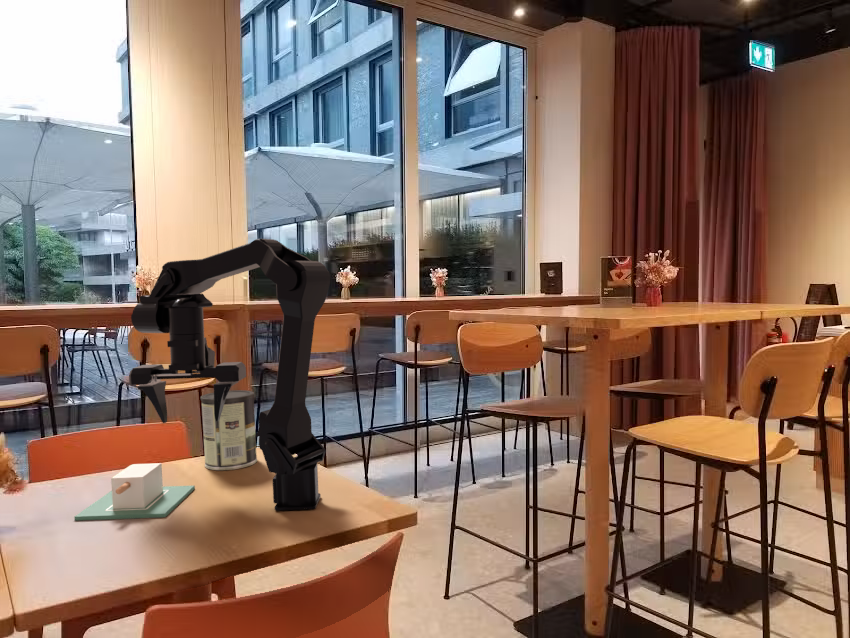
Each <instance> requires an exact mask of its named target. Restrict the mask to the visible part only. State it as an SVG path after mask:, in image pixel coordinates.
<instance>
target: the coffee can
mask: <svg viewBox="0 0 850 638" xmlns="http://www.w3.org/2000/svg"><path fill="white" fill-rule="evenodd" d="M254 397H255V392H254V391H252V390H247V389H246V390H245V389H242V390H241V389H236V390H233V389H232V390H229V392H228V394H227V397H226V400H225V403H224V406H223V410H222V413H221V416H220V420H219V421H217V422H216V421H215V415H214V391H213V392H210V393H206V394H203V395H201V396H200V401H201V415H202V416H201V417H202V430H203V431H202V432H203V450H204V467H205V468H206V469H208V470H211V471H231V470H232V471H233V470H234V471H235V470H240V469H243V468H246V467H250V466H253V465H255V464H256V463H257V462H258V457H257V456H258V455H257V441H256V438H257V437H256V422H255V421H256V420H255V401H254V400H255V398H254Z"/></svg>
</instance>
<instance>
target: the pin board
mask: <svg viewBox="0 0 850 638" xmlns="http://www.w3.org/2000/svg"><path fill="white" fill-rule="evenodd" d="M195 489H196V486H195V485H171V486H169V485H167V486H166V485H165V486H163V492H162V493H161V494H160V495H159V496H157V497H156V498H155V499H154V500H153V501H152V502H150V503H149V504H148V505H147V506H146V507H145V508H124V509H113V501H112V490H110V491H109V492H107V493H106V494H105V495H103V496H101V497H100V498H99V499H97V500H95V502H93V503H92V504H90V505H89V506H87V507H86V508H85V509H83V510H81V511H80V512H79V513H77V514H75V516H74V517H73V518H74V521H93V520H95V521H97V520H99V521H100V520H121V519H122V520H124V519H127V520H128V519H148V518H154V519H156V518H167V516H168V515H169V514H170V513H171V512H172V511H174V510H175V508H177V506H179V505H180V504H181V503H182V502H183V501H184V500H185V499H186V498H187V497H188V496H189V495H190V494H191V493H193V491H194V490H195Z"/></svg>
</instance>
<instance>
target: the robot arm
mask: <svg viewBox="0 0 850 638" xmlns="http://www.w3.org/2000/svg"><path fill="white" fill-rule="evenodd" d="M258 268H260V269H261V270H262V271H261V272H263V274H264V276H266V277H267V278H268V279H269V280H271V281H272V282H273V283H274V284H276V298H277V302H278V304H279V306H280V309H281V312H282V313H283V314H282V315H283V320H282V328H281V338H280V347H279V348H280V349H279V354H278V355H279V356H278V357H279V358H278V365H277V374H276V375H277V376H276V381H275V382H276V383H275V385H276V386H275V392H274V394H275V395H274V401H273V404H272V405H271V407H270V408H269V409H267V410H263V411H260V412H259V415H258V429H257V432H256V433H255V436H256V438H258V447H259V450H261V451H262V453H263V458H264V461H265V463H266V467H267V470H268V472H269V473H275V475H274V477H273V478H272V498H273V503H274V504H275V505H274V510H275V511H296V510H297V511H298V510H299V511H301V510H314V509H317V506H318V504H319V501H320V499H321V497H322V496H321V493H319V476H318V463H319V462H323V461H324V460H325V455H326V452H327V451H326V448H325V447H324V446H323V444H322V443H321V442H320V441H319V440H318V438H317V437H316V436H315V434H314V433H313V432H312V431H313V430H312V418H311V415H310V413H309V411H308V407H307V406H306V398H307V389H308V379H309V372H310V365H311V363H310V362H311V356H312V355H311V354H312V347H313V338H314V337H313V336H314V329H315V328H314V327H315V320H316V317H317V315H319V312H320V310H321V309H322V307H323V305H324V304H325V302H326V301H327V297H328V296H327V295H328V292H329V288H330V285H331V273H330V271H328V269H327V268H326V266H325V264H323V263H322V262H320V261H318V260H311V259H309V258H308V257H307V256H305V255H303V254H301V253H299V252H297V251H296V250H293V249H291V248H288V247H287V246H286V245H285V244H283V243H282V242H279V241H278V240H277V239H270V238H256V239H254V240H253V241H250V242H249V243H245V244H243V245H239V246H237V247H233V248H231V249H227V250H226V251H225V250H224V251H222V252H220V253H216V254H213V255H210V256H207V257H205V258H200V259H198V258H197V259H185V260H174V261H168V262H166V263H164V264H163V265H162V267H161V271H160V273H159V276H158V278H157V280H156V282H155V283H154V285H153V288H152V289H151V291H150V294H149V295H140V296H139V302H138V303H137V304H136V305H135V307H134V308H133V310H132V314H131V315H130V316H131V317H130V319H131V324H132V327H133V328H134V329H135V330H136V331H137V332H140V333H142V334H169V340H168V341H167V348H169V349H170V351H169V352H170V364H168V368H164V366H163V364H158V363H157V364H142V365H139V366H135V367H133V368H132V369H131V370H130V371H129V374H128V383H129V384H128V385H129V386H135V385H136V386H137V388H136V389H137V390H140V391H141V390H142V391H143V392H144V394H145V395H146V397H147V398H148V399H149V401H150V402H151V404H152V406H153V408H154V410H155V411H156V413H157V416H158V417H159V418H160V421H161V423H163V424H166V423H167V422H168V409H167V400H166V385H167V381H166V380H173V379H174V380H175V379H178V380H180V379H207V378H209V379H210V378H214V379H216V380H217V381H218V382H216V383H214V384H213V392H214V415H215V421H216V422H217V421H219V420H220V416H221V413H222V410H223V406H224V403H225V400H226V397H227V394H228V392H229V391H231V388H232V387H233V386H234V385H236V384H238V383H239V382H240V381H242V380H243V379H245V378H247V368H246V365H245V364H244V363H243V361H230V362H229V361H228V362H225V361H224V362H221V363H219V364H217V365H216V366H215V358H216V357H215V356H216V352H215V350H213V349H212V348H211V347H209V346H208V342H207V341H208V340H207V337H205V326H204V325H205V323H204V322H205V321H204V308H212V307H213V305H214V303H213V302H212V301H211V300H209V299H208V298H207V297H206V296H205V295H204V294H203V293H204V292H206V291H208V290H209V289H211V288H213V286H214V285H216V283H217V282H219V281H220V280H222V279H226V278H229V277H232V276H235V275H236V276H237V275H239V274H242V273H245V272H249V271H251V270H252V271H253V270H254V269H258ZM178 371H179V372H178ZM181 371H183V372H181ZM295 455H296V456H295Z"/></svg>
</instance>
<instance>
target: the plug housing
mask: <svg viewBox="0 0 850 638" xmlns="http://www.w3.org/2000/svg"><path fill="white" fill-rule="evenodd" d="M162 467H163V466H162V462H159V463H158V462H157V463H156V462H155V463H133V464H130V465H129V466H127V467H126V468H124V469H123V470H121V471H119V472H118V473H117V474H115V475H114V476H112V477H111V478H110V479H111V482H110V483H111V491H112V501H113V509H124V508H145V507H146V506H147V505H148V504H149V503H150V502H152V501H153V500H154V499H155V498H156V497H157V496H159V495H160V494H161V493H162V492H163V487H164V486H163V485H164V484H163V470H162V469H163V468H162Z"/></svg>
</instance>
